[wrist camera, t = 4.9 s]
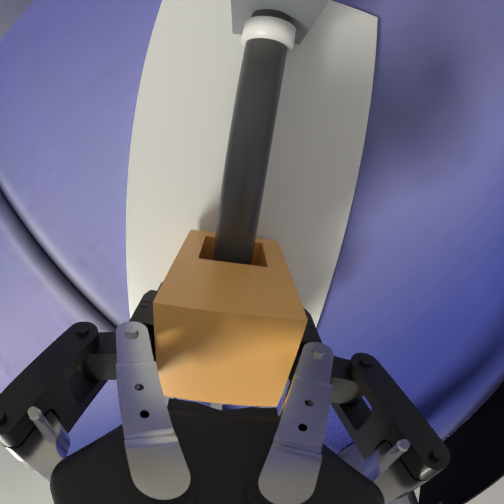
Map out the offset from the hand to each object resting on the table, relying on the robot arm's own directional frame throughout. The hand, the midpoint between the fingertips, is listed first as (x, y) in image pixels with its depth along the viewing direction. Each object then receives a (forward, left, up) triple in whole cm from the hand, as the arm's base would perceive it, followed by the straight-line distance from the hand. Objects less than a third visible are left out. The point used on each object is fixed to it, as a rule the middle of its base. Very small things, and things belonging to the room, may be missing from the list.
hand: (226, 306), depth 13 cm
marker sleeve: (0, 0, -4) cm, 4 cm away
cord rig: (0, -7, -5) cm, 9 cm away
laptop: (-59, +31, -6) cm, 67 cm away
